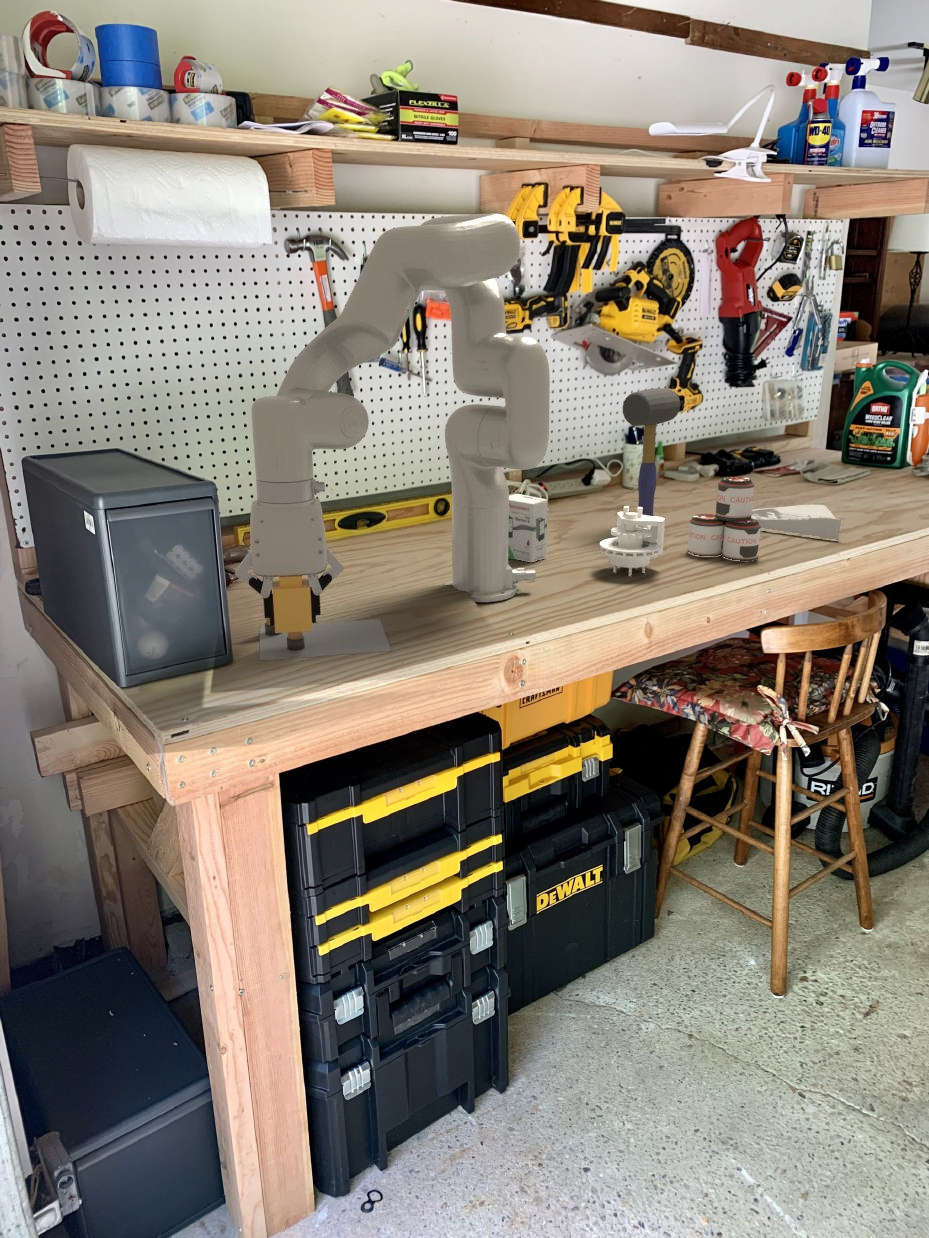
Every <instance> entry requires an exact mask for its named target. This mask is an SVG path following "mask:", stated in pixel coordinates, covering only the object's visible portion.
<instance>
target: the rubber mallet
mask: <svg viewBox="0 0 929 1238" xmlns="http://www.w3.org/2000/svg"><path fill="white" fill-rule="evenodd" d="M680 409H681V400H680V397H679V395H678V394H677V393H676V391H674V390H672V389H671V388H666V387H665V388H663V387H661V388H658V387H657V388H646V389H642V390H639V391H634V392H631V393H630V394H628V395H627V397H625V399H624V401H623V403H622V415H623V418H624V419H625V420H626V422H627V423H629V424H630V425H632V426H635V427H641V426H642V427H643V426H644V428H643V442H642V459H641V464H640V466H639V467H640V468H639V474H638V483H637V488H638V506H637V508H638V507H643V510H642V515H647V516H654V508H655V507H654V506H655V505H654V504H655V494H656V488H657V465H656V462H655V459H656V458H655V457H656V455H655V454H656V438H657V436H656V435H657V431H656V430H657V425H659V424H660V425H661V424H663V423H666V422H669V421H672V420H674V419H675V418H676V417H677V416H678V414H679V412H680Z"/></svg>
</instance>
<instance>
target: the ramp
mask: <svg viewBox="0 0 929 1238" xmlns="http://www.w3.org/2000/svg"><path fill="white" fill-rule="evenodd" d="M751 518H752V519H756V520H757V521H758V523H759V524H760V525H761V528H765V529H772V530H778V531H784V532H790V533H791V532H792V533H800V534H806V535H812V536H819V537H825V538H829V539H836V540H838V541H839V538H840V537H839V536H840V527H841V518H837V517H835V516H834V514H833V513H832V511H831V510H830V509H828V507H827V506H826V505H824V504H799V505H797V504H796V505H788V506H781V507H780V506H778V507H766V508H757V509H756V508H755V509H752V516H751Z"/></svg>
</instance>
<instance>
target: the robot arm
mask: <svg viewBox="0 0 929 1238" xmlns="http://www.w3.org/2000/svg"><path fill="white" fill-rule="evenodd" d="M520 250H521V239H520V233H519V231H518V229H517V226H516V225H515V223H514V222H513V221H512V219H510V218H509V217H508V216H505V215H504V214H501V213H477V214H461V215H447V216H445V215H444V216H439V217H433V218H431V219H427V220H426V221H424V222H423V223H421V224H420V225H408V226H399V227H398V226H397V227H393V228H390V229H388V230H386V231H384V232H383V233H382V234H380V236H378V238H377V239H376V241H375V243H374V245H373V246H372V249H371V251H370V253H369V255H368V257H367V259H366V261H365V264H364V265H363V268H362V269H361V272H360V274H359V276H358V277H357V278H358V279H357V280H356V283H355V284H354V287H353V289H352V291H351V292H350V295H349V297H348V298H347V301H346V303H345V305H344V307H343V310H341V313H340V314H339V315H338V316H337V318H336V319H335V320H333V321H332V322H331V323H329V324H328V325H327V326H326V327H325V328H324V329H322V330H321V331H320V333H319V334H317V335H316V336H315V337H314V338H313V339H312V340H311V341H310V342H309V343H308V344H306V346H305V347H304V348H303V349H302V350H301V351H300V352H299V353H298V354H297V356H296V357H295V358H294V360H293V361H292V364H291V365H290V366H289V368H288V369H287V370H288V371H287V372H286V374H285V376H284V379H282V380H283V381H282V382H281V384H280V387H279V389H278V392H277V393H276V395H271V396H270V395H269V396H263V397H259V398H256V399H255V401H253V403H252V406H251V426H252V439H253V454H254V455H253V456H254V467H255V468H254V469H255V470H254V471H255V486H256V496H257V497H256V500H252V501H251V508H250V519H249V520H250V521H249V522H250V523H249V538H250V540H249V542H250V546H249V547H250V550H249V551H248V552H247V554H246V555H245V557H244V558H243V559H242V561H240V564H239V565H238V566H237V568H236V569H235V573H234V574H235V576H236V577H237V578H238V579H239V580H242V581H243V582H244V583H246V584H247V585H249V586H250V587H251V588H252V589H253V590H254V591H256V592H257V593H258V594H259V595H261V598H263V600H262V601H263V613H264V614H263V615H264V619H266V618H270V626H274V624H275V620H274V605H273V589H272V583H273V579H275V578H276V577H277V578H278V577H280V576H300V575H302V576H307V578H308V579H309V584H310V595H311V614H312V624H315V623H317V616H321V615H322V614H321V594H322V592H323V591H324V589H326V587H327V588H328V585H330V584H331V582H332V581H333V580H334V579H336V578H337V577H338V576H339V575H340V574H342V573H343V572H344V570H345V568H344V564H343V563H342V561H341V560H339V558H337V556H336V555H335V554H334V553H333V552H332V551H331V550H330V548H329V547H328V546H327V538H326V529H325V527H326V526H325V519H324V513H323V512H324V511H323V509H322V504H321V500H320V499H319V498H316V496H317V494H319V493H324V492H326V486H325V481H319V480H316V479H314V461H313V460H314V459H313V451H314V450H337V451H339V450H345V449H350V448H352V447H354V446H356V445H357V444H358V443H360V442H361V441H362V440H363V439H364V437H365V436H366V434H367V432H368V429H369V424H370V423H369V413H368V411H367V409H366V407H365V406H364V404H363V403H362V402H361V401H360V400H359V399H357V398H356V397H354V396H353V395H351V394H348V393H347V394H346V393H342V392H336V391H330V390H331V388H332V387H333V386H334V384H336V383H337V381H338V380H339V379H340V378H341V377H342V376H344V375H345V374H346V373H347V372H349V371H351V370H352V369H354V368H356V367H358V366H360V365H363V364H364V363H366V362H369V361H372V360H374V359H375V358H377V357H379V356H382V355H384V354H385V353H387V352H388V351H390V350H391V349H393V348H394V347H395V346H396V344H397V343H398V342H399V339H400V337H401V334H402V331H403V329H404V327H405V325H406V323H407V321H408V319H409V317H410V314H411V312H412V310H413V308H414V306H415V304H416V302H417V300H418V298H419V295H420V294H421V293H422V292H424V291H444V294H445V296H446V298H447V301H448V305H449V310H450V311H449V312H450V321H451V324H450V325H451V327H450V328H451V354H452V355H451V356H452V358H451V359H452V360H451V361H452V375H453V381H454V384H455V386H456V388H457V389H458V390H459V391H460V392H461V393H464V394H466V395H469V396H474V397H484V398H494V399H504V403H505V406H501V405H494V404H493V405H492V404H482V403H481V404H480V403H478V404H477V403H475V404H473V403H472V404H467V405H463V406H460V407H459V408H457V409H455V410H454V411H452V413H451V414H450V416H448V418H447V421H446V423H445V428H444V441H445V443H444V444H445V448H446V452H447V458H448V461H449V468H450V469H449V470H450V480H451V549H452V550H451V557H452V558H451V560H452V561H451V565H452V566H451V567H452V570H451V571H452V575H451V576H452V579H450V580H448V581H447V582H445V583H444V586H447V585H448V586H450V585H452V587H453V588H454V589H457V590H458V591H461V592H466V593H467V594H469V596H470V598H471V599H472V600H473V602H474V603H492V602H493V603H494V602H500V601H501V602H502V601H504V600H508V599H511V598H513V597H514V596H515V595H516V594H517V592H518V585H517V584H518V582H535V581H536V578H537V574H536V570H535V569H525V567H516V568H513V567H511V566H510V564H509V558H508V532H509V496H510V490H509V485H508V484H509V483H508V481H507V479H506V475H505V473H504V470H503V469H502V468H505V469H513V470H520V471H521V470H522V471H524V470H526V471H527V470H532V469H533V468H535V467H536V468H537V466H538V465H539V464H540V463H541V462H542V461H543V459H544V458H545V455H546V453H547V451H548V450H547V449H548V446H549V439H550V393H551V392H550V389H551V388H550V379H551V377H550V365H549V360H548V357H547V354H546V352H545V350H544V349H545V348H543V346H542V345H541V344H540V343H539V342H538V341H537V340H535V339H534V338H533V337H531V336H530V337H529V336H526V335H514V334H513V335H510V334H509V335H508V334H507V327H506V326H507V325H506V311H505V309H506V307H505V299H504V295H503V293H502V290H501V287H500V285H499V283H498V281H497V280H496V278H499V277H502V276H504V275H506V274H508V272H510V271H511V270H512V269H513V268H514V267H515V265H516V263H517V261H518V258H519V255H520ZM315 495H316V496H315ZM328 565H329V566H330V568H329V569H327V567H328ZM251 567H252V572H250V571H249V570H250V568H251ZM326 570H327V571H326ZM252 573H254V574H252ZM319 574H321V575H320V577H319V576H318V575H319ZM257 576H258V577H257ZM259 577H262V580H261V579H260V578H259Z"/></svg>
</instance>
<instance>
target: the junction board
mask: <svg viewBox="0 0 929 1238" xmlns="http://www.w3.org/2000/svg"><path fill="white" fill-rule="evenodd" d="M386 634H387V633H386V632H385V629H384V627H383V623H382V621H381V619H380V618H379V619H375V618H374V619H362V620H360V619H359V620H347V621H332V622H316V623H312V631H302V632H286V633H275V624H274V626H270V618H265V622H264V626H261V627H259V661H274V660H275V661H276V660H287V659H301V658H303V659H304V658H314V657H330V656H340V655H341V656H342V655H354V654H357V655H358V654H366V653H369V654H370V653H380V652H392V651H393V650H392V648H391V646H390V643H389V640H388V637H387V635H386Z"/></svg>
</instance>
